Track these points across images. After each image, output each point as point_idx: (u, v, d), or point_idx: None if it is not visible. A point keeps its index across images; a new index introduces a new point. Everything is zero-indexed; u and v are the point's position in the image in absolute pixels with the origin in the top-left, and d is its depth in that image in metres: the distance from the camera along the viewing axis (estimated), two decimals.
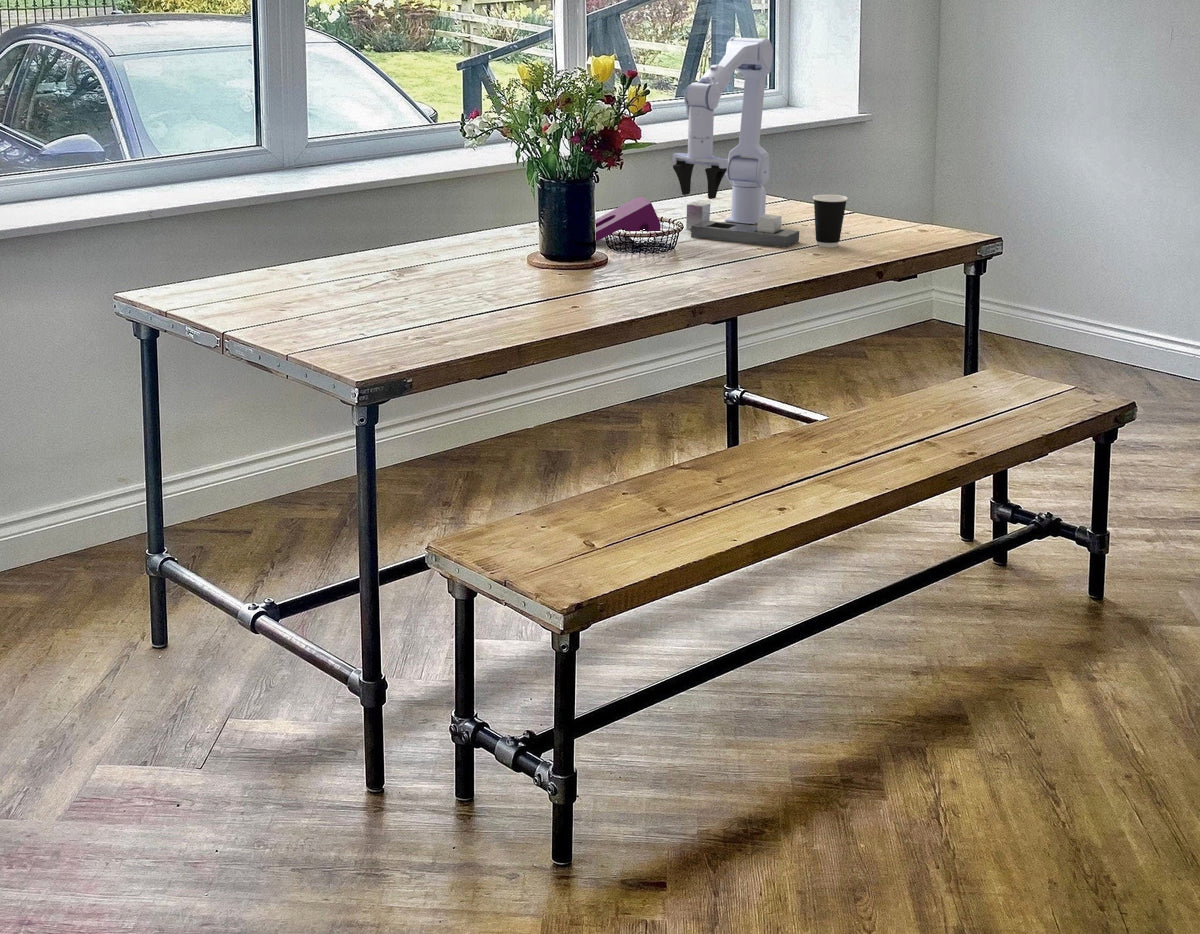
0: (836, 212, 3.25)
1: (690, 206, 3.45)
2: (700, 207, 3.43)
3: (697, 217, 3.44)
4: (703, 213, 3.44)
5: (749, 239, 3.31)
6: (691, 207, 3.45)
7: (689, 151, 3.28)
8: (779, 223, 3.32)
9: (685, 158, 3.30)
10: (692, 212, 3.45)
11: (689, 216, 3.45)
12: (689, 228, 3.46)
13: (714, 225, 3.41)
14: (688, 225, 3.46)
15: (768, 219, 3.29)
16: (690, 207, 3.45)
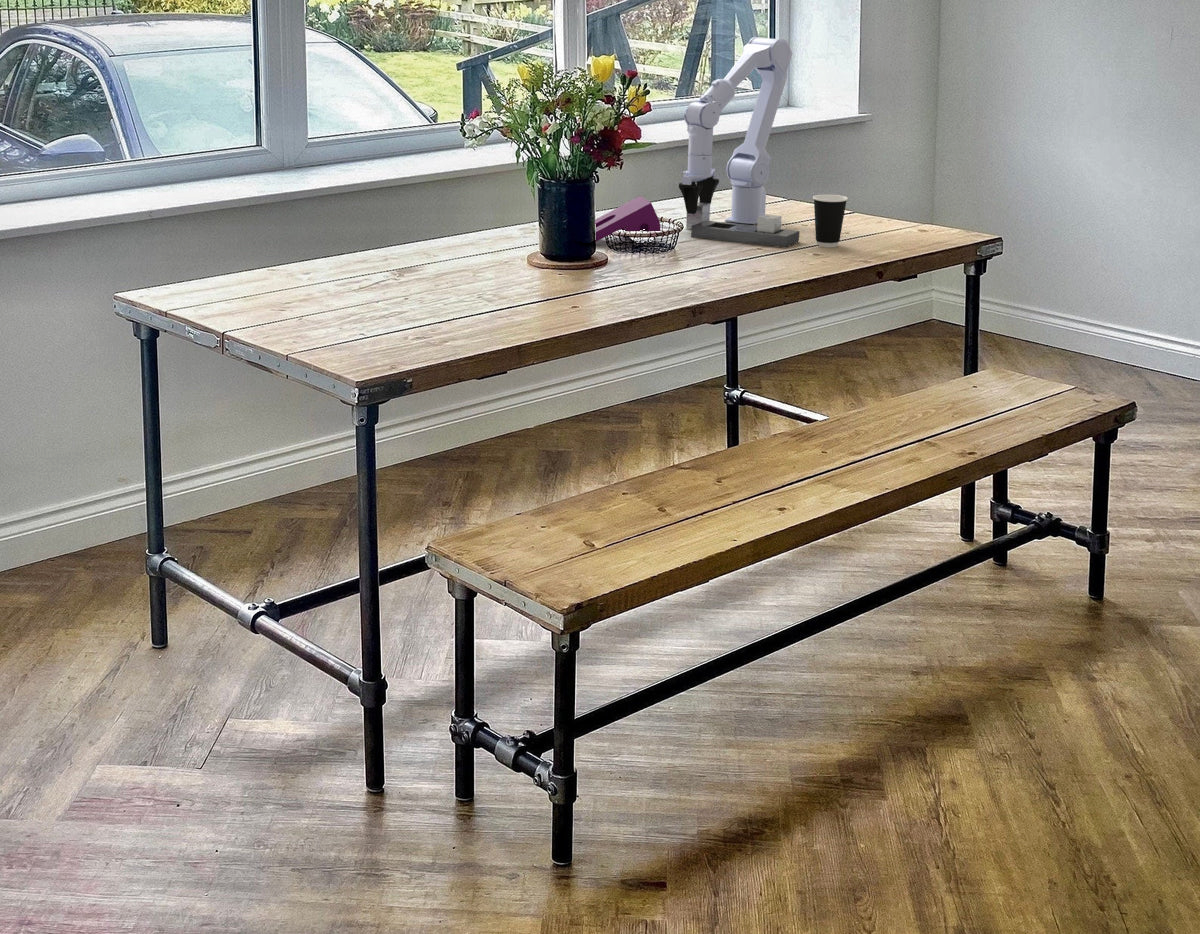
0: (836, 212, 3.25)
1: None
2: (700, 207, 3.43)
3: (697, 217, 3.44)
4: (703, 213, 3.44)
5: (749, 239, 3.31)
6: None
7: None
8: (779, 223, 3.32)
9: None
10: None
11: (689, 216, 3.45)
12: (689, 228, 3.46)
13: (714, 225, 3.41)
14: (688, 225, 3.46)
15: (768, 219, 3.29)
16: None
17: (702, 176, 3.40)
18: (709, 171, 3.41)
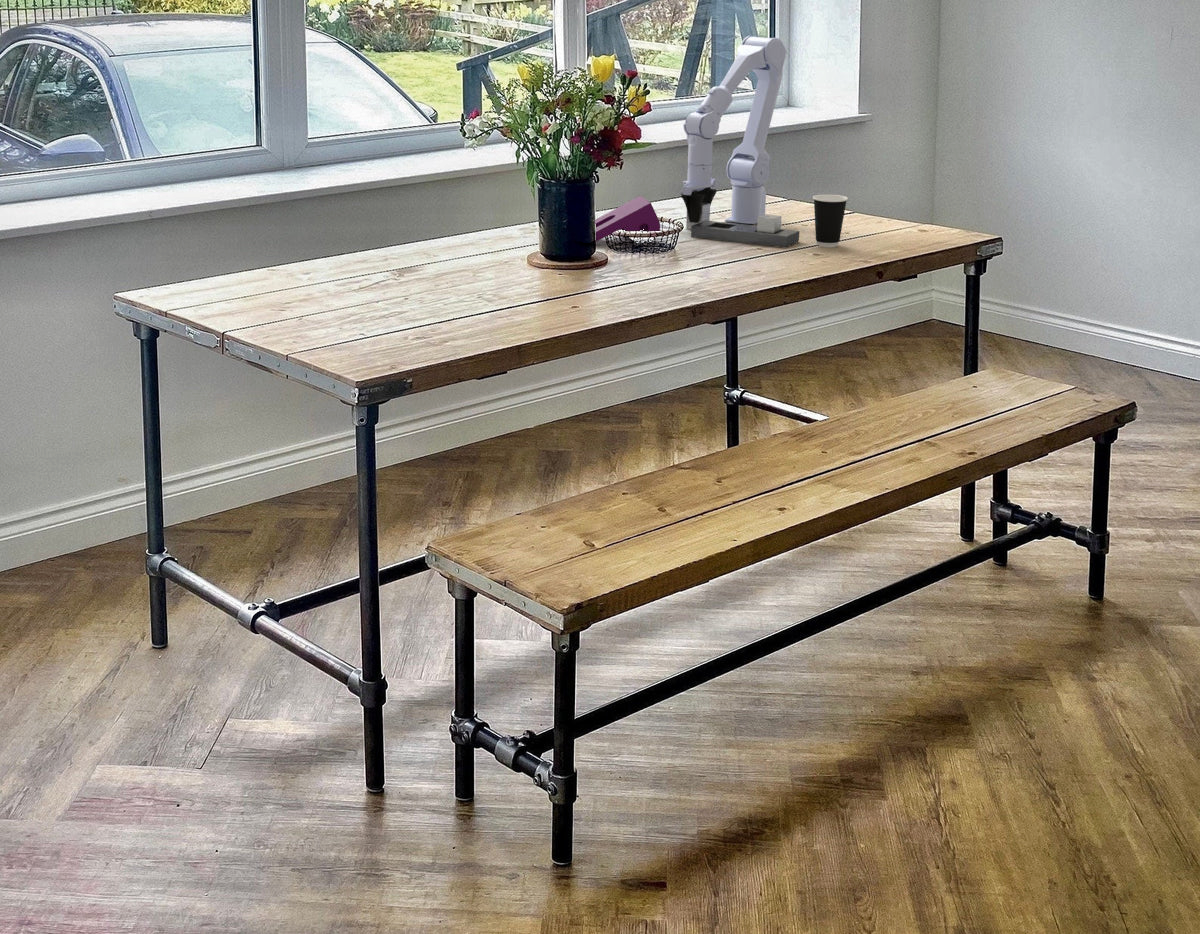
0: (836, 212, 3.25)
1: None
2: None
3: None
4: (703, 212, 3.44)
5: (749, 239, 3.31)
6: None
7: None
8: (779, 223, 3.32)
9: None
10: None
11: None
12: (689, 228, 3.46)
13: (714, 225, 3.41)
14: (688, 225, 3.46)
15: (768, 219, 3.29)
16: None
17: (702, 186, 3.41)
18: (709, 181, 3.42)
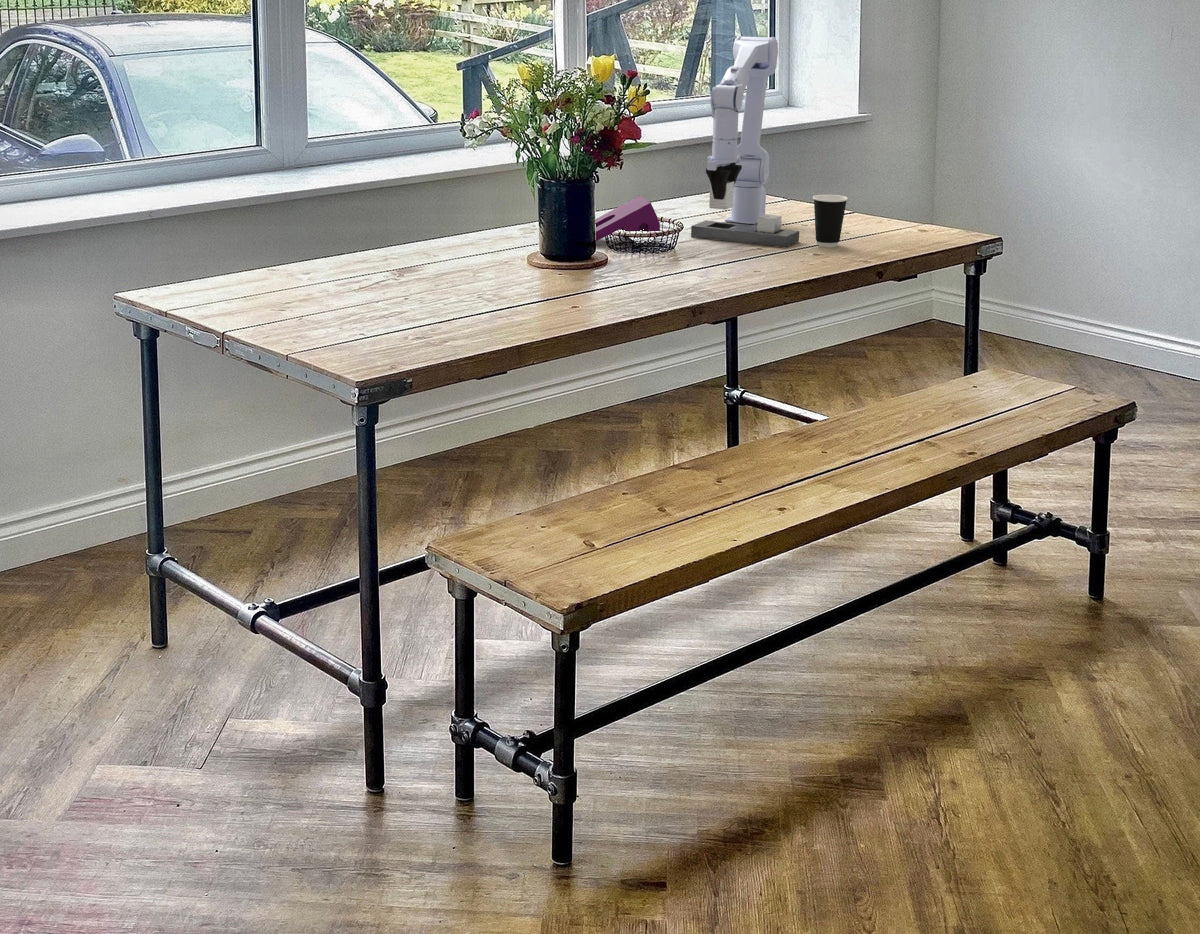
0: (836, 212, 3.25)
1: None
2: None
3: None
4: (727, 191, 3.33)
5: (749, 239, 3.31)
6: None
7: None
8: (779, 223, 3.32)
9: None
10: None
11: (712, 194, 3.34)
12: (712, 207, 3.35)
13: (714, 225, 3.41)
14: (711, 203, 3.35)
15: (768, 219, 3.29)
16: None
17: (727, 161, 3.29)
18: (734, 156, 3.30)
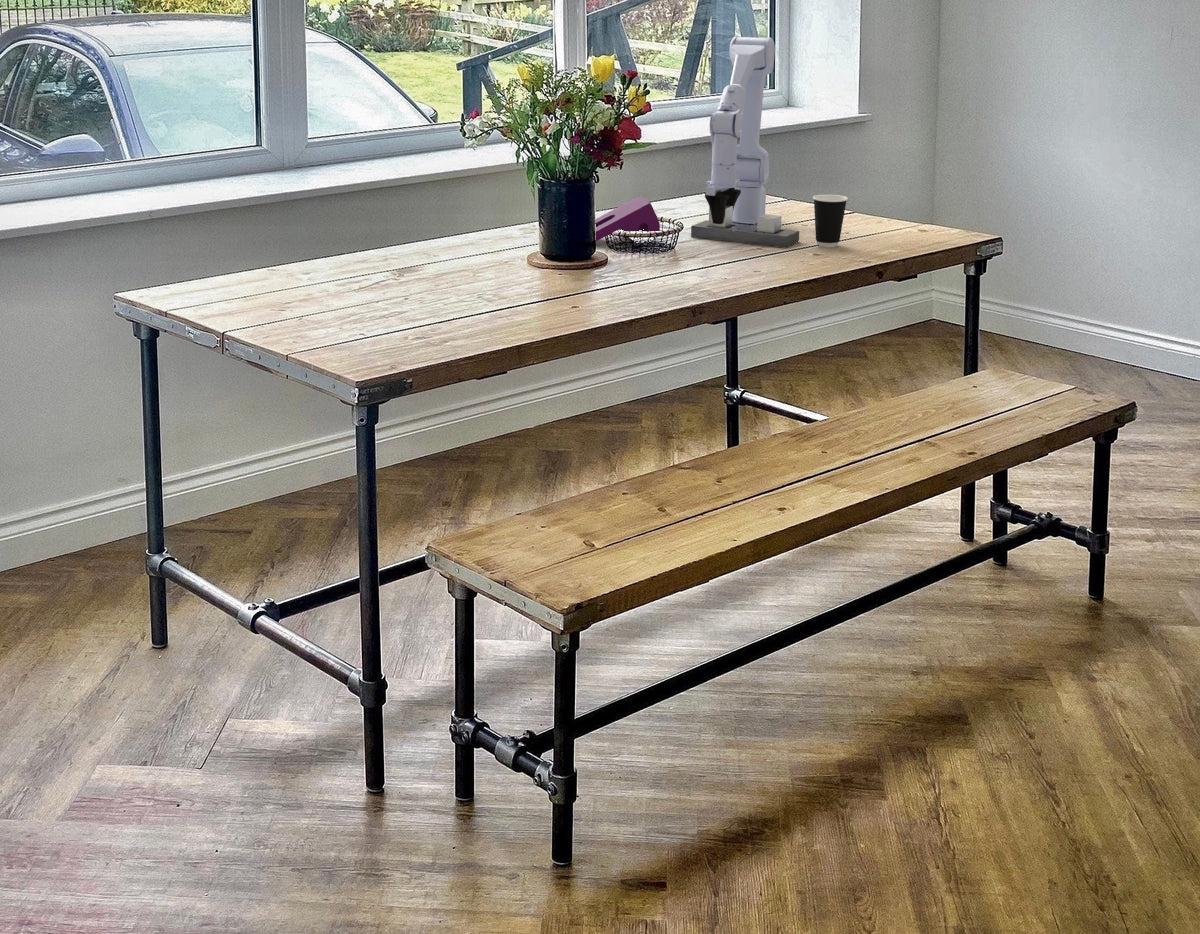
0: (836, 212, 3.25)
1: None
2: None
3: None
4: (726, 215, 3.35)
5: (749, 239, 3.31)
6: None
7: None
8: (779, 223, 3.32)
9: None
10: None
11: (711, 219, 3.36)
12: None
13: None
14: None
15: (768, 219, 3.29)
16: None
17: (726, 186, 3.31)
18: (733, 181, 3.32)
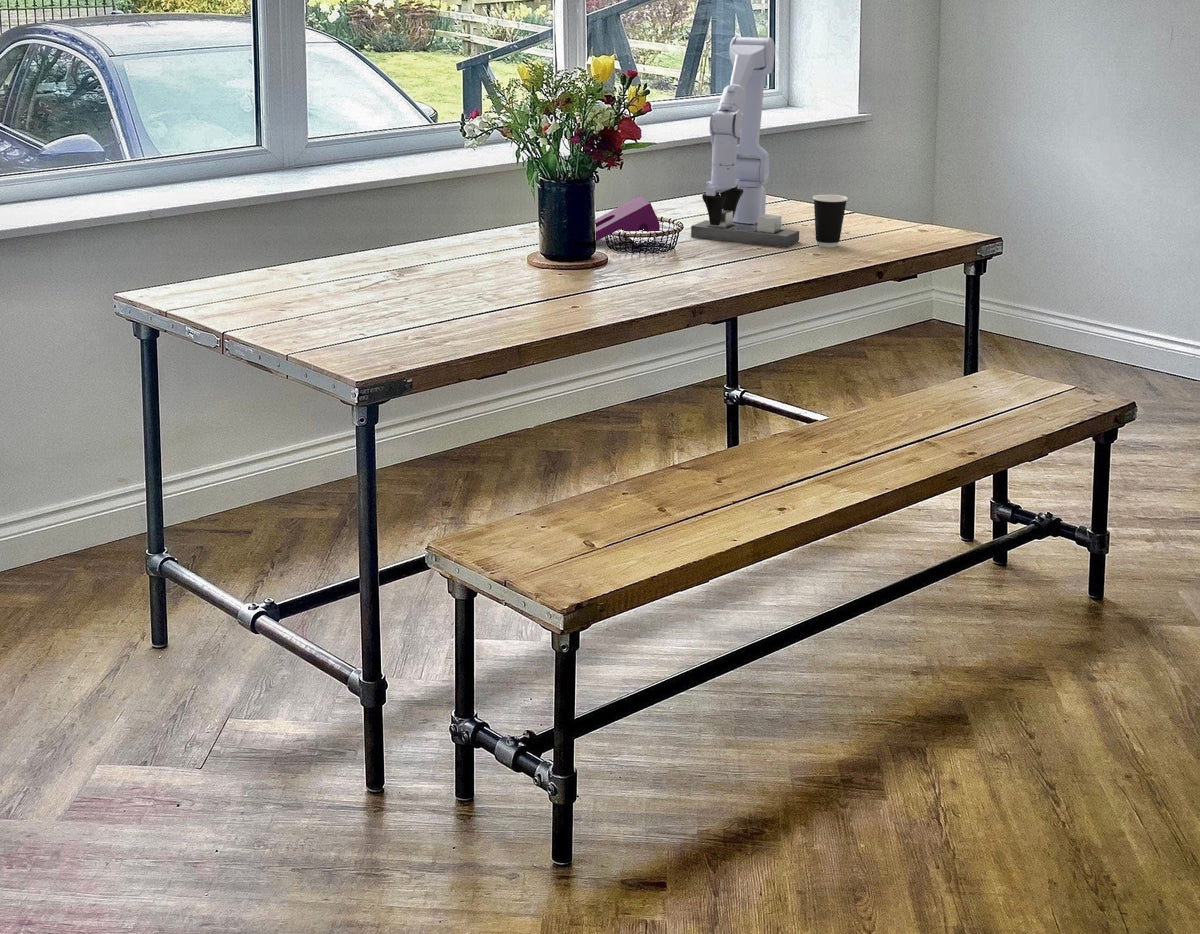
0: (836, 212, 3.25)
1: None
2: (723, 215, 3.34)
3: (720, 224, 3.36)
4: (726, 220, 3.35)
5: (749, 239, 3.31)
6: None
7: None
8: (779, 223, 3.32)
9: None
10: None
11: None
12: None
13: None
14: None
15: (768, 219, 3.29)
16: None
17: (726, 187, 3.31)
18: (733, 181, 3.32)
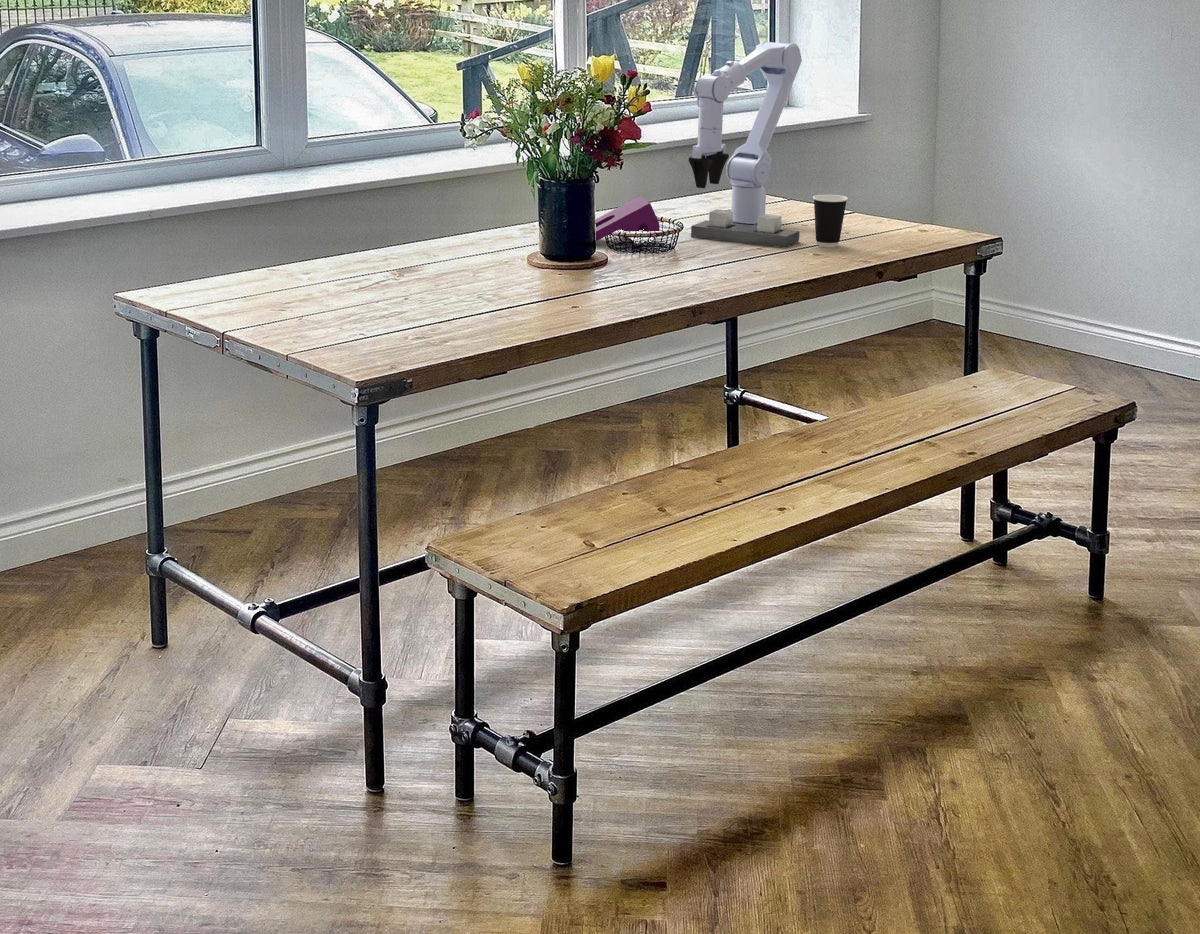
0: (836, 212, 3.25)
1: (713, 214, 3.36)
2: (723, 215, 3.34)
3: (720, 224, 3.36)
4: (726, 220, 3.35)
5: (749, 239, 3.31)
6: (713, 215, 3.36)
7: None
8: (779, 223, 3.32)
9: None
10: (715, 220, 3.36)
11: (712, 224, 3.37)
12: None
13: None
14: None
15: (768, 219, 3.29)
16: (713, 214, 3.36)
17: (712, 150, 3.37)
18: (719, 145, 3.39)
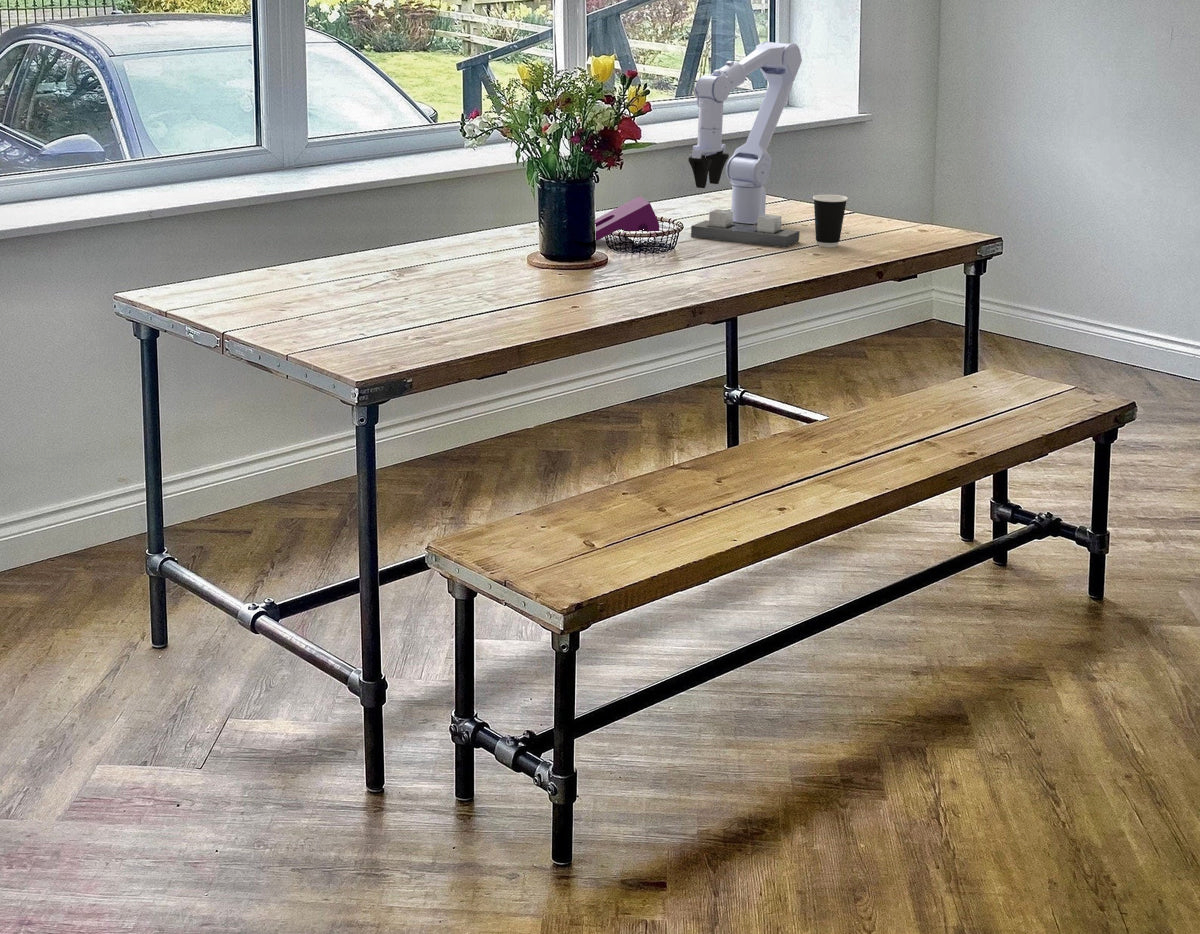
0: (836, 212, 3.25)
1: (713, 214, 3.36)
2: (723, 215, 3.34)
3: (720, 224, 3.36)
4: (726, 220, 3.35)
5: (749, 239, 3.31)
6: (713, 215, 3.36)
7: None
8: (779, 223, 3.32)
9: None
10: (715, 220, 3.36)
11: (712, 224, 3.37)
12: None
13: None
14: None
15: (768, 219, 3.29)
16: (713, 214, 3.36)
17: (712, 150, 3.37)
18: (719, 145, 3.39)
